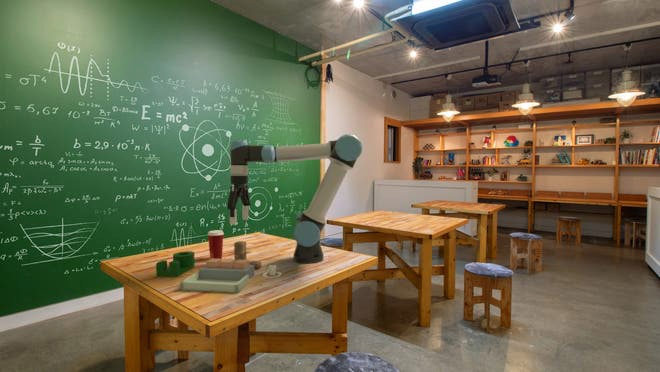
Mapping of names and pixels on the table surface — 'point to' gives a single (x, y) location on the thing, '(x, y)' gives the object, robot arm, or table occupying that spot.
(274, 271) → the teacup and saucer
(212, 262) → the tile
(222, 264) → the tile
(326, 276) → the table surface
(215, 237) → the paper cup
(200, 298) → the table surface
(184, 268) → the green bracket
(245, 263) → the tile
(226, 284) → the tray
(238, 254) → the scraper
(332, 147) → the robot arm
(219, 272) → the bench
